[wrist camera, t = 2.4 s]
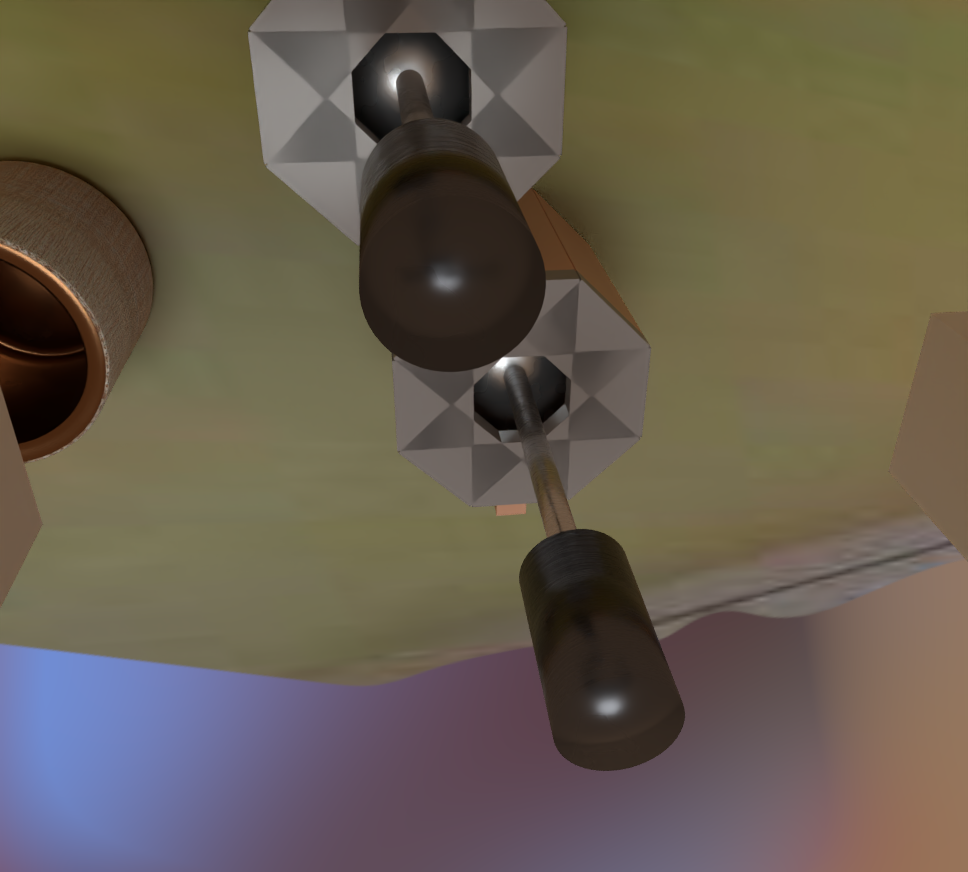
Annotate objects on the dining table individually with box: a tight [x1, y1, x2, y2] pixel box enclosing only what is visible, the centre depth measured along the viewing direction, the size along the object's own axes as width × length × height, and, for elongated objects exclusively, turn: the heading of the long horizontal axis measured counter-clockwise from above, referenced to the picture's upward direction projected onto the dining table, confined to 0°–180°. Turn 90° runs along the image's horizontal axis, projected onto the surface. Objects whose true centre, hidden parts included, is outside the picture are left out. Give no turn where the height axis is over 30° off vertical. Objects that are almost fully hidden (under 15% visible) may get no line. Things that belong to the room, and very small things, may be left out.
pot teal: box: [248, 0, 567, 246], centre depth 36 cm, size 13×10×12 cm
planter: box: [0, 161, 153, 464], centre depth 41 cm, size 11×11×10 cm
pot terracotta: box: [392, 188, 651, 516], centre depth 44 cm, size 13×10×12 cm
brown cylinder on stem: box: [474, 356, 685, 771], centre depth 32 cm, size 8×8×20 cm
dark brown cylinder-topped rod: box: [352, 32, 546, 372], centre depth 25 cm, size 8×8×20 cm
